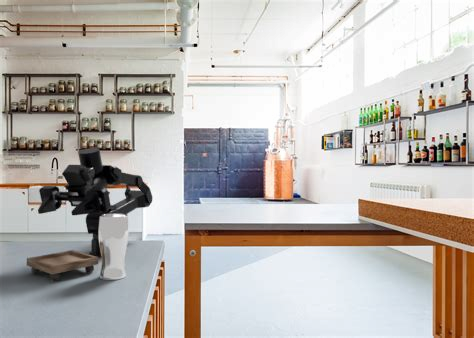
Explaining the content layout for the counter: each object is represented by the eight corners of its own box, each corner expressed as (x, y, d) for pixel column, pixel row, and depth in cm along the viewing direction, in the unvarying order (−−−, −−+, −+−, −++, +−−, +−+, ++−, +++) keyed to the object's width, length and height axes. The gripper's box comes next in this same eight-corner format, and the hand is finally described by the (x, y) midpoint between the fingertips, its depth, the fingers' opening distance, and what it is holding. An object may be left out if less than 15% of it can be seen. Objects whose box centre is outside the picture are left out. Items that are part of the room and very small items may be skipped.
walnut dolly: (71, 264, 107) (72, 250, 107) (98, 272, 100) (98, 257, 100) (26, 273, 97) (26, 258, 97) (52, 283, 90) (52, 266, 90)
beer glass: (133, 274, 98) (134, 214, 98) (116, 282, 92) (117, 217, 92) (109, 271, 101) (110, 212, 100) (91, 278, 94) (92, 215, 94)
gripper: (54, 160, 110) (14, 181, 96) (115, 161, 106) (84, 183, 92) (61, 196, 114) (24, 222, 99) (121, 199, 110) (92, 225, 96)
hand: (55, 212), depth 97 cm, fingers open, 9 cm apart
